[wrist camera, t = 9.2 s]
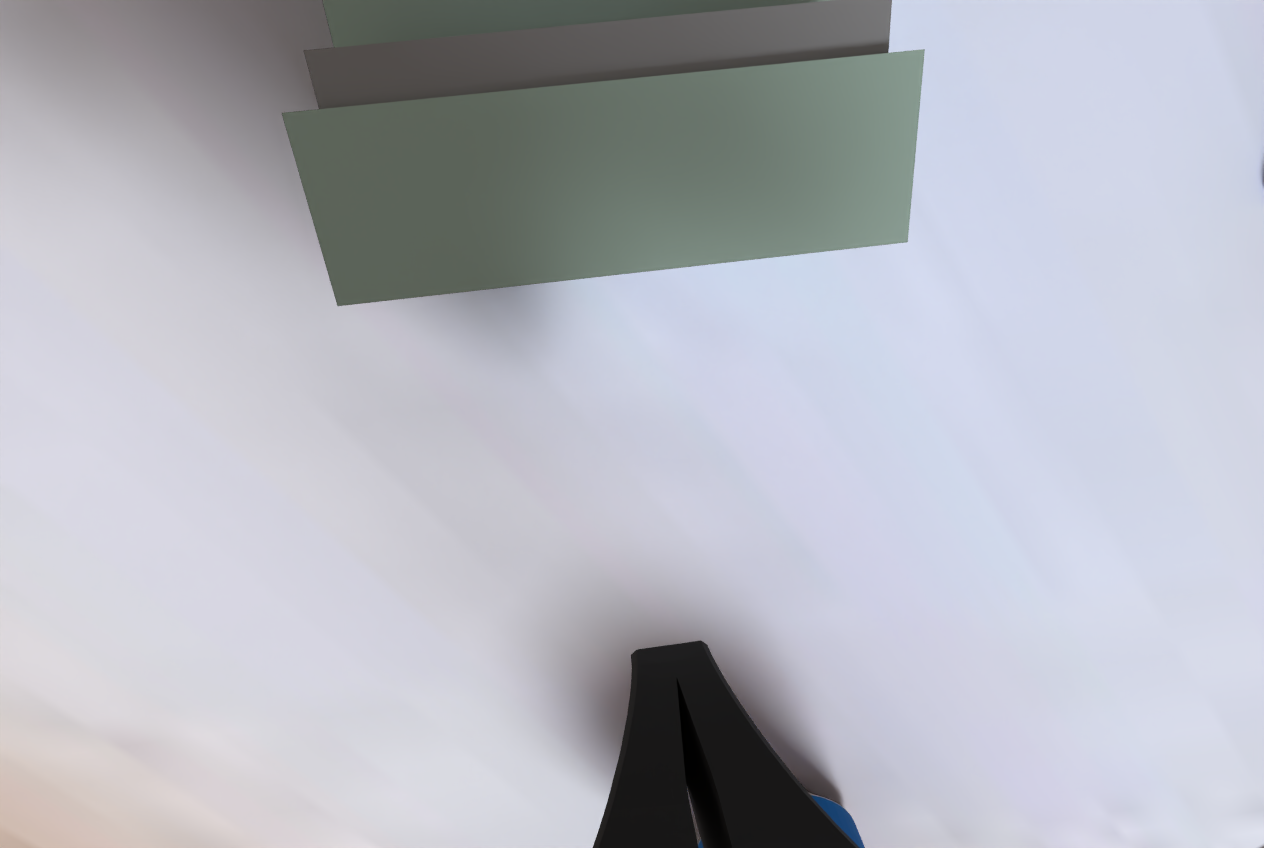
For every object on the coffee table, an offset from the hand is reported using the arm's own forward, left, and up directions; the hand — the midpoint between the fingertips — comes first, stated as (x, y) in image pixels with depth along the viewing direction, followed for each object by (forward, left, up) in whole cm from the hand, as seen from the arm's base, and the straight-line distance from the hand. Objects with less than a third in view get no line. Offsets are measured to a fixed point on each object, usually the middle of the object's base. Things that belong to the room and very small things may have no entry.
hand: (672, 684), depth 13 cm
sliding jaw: (0, -9, -6) cm, 11 cm away
